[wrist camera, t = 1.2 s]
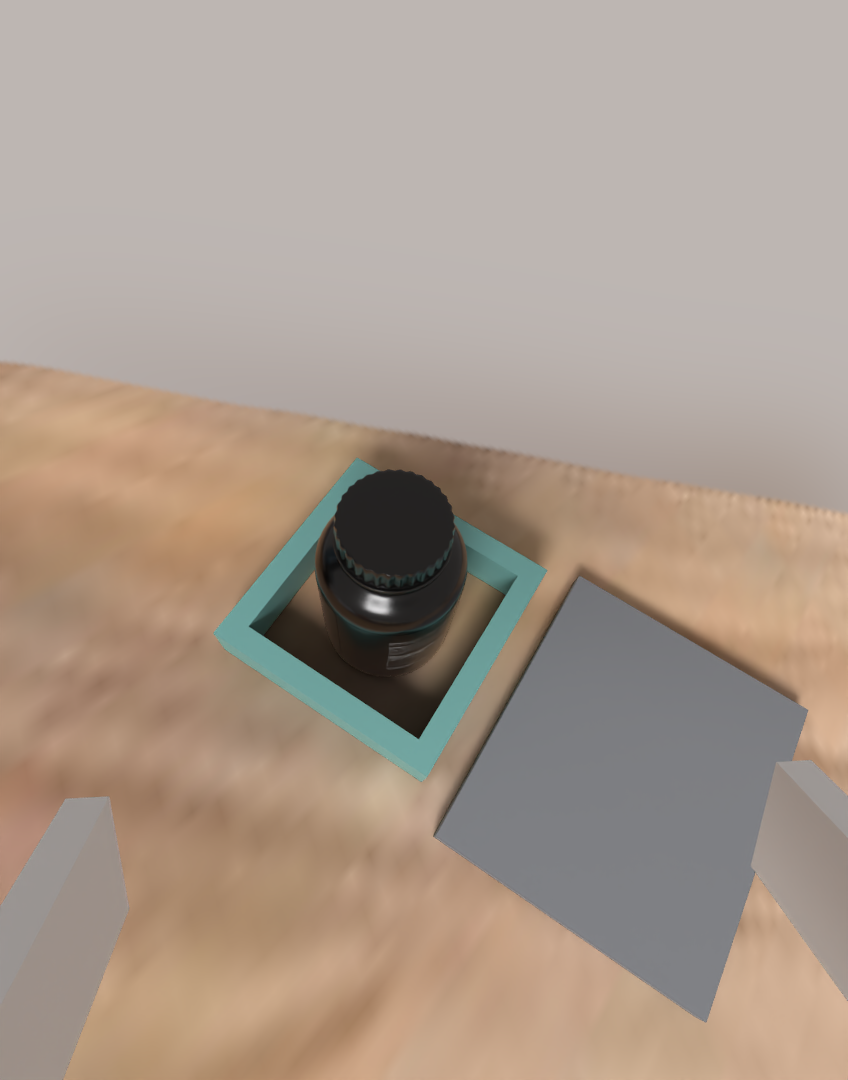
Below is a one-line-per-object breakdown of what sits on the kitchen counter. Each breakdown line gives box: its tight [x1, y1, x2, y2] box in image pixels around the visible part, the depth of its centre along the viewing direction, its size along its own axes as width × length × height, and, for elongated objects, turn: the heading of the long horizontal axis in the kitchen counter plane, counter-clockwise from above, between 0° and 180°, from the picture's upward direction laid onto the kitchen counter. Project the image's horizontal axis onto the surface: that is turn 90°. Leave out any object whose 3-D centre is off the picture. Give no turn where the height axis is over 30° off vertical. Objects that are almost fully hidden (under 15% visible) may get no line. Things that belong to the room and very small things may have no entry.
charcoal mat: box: [433, 576, 808, 1022], centre depth 32 cm, size 14×16×1 cm
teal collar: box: [214, 458, 547, 782], centre depth 34 cm, size 12×12×3 cm
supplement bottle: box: [315, 470, 468, 677], centre depth 30 cm, size 7×7×12 cm
